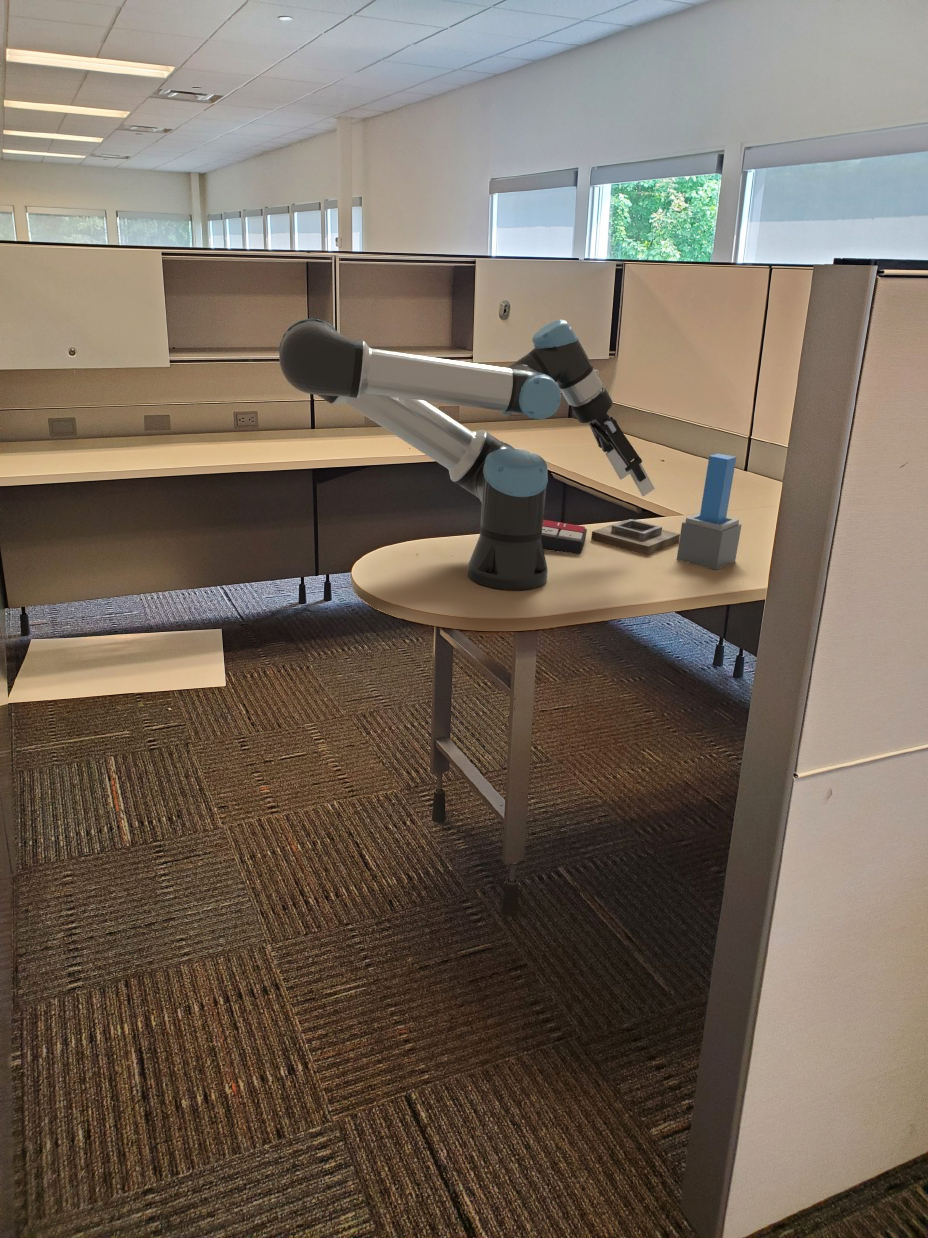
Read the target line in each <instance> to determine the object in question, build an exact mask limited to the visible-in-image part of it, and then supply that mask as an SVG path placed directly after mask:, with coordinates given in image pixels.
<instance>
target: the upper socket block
mask: <svg viewBox="0 0 928 1238" xmlns="http://www.w3.org/2000/svg"><path fill="white" fill-rule="evenodd" d="M699 518H700V512H699V513H695V514H694V515H691V516H687V517H686V518H685V521H683V522H681V526H680V527H681V528H680V532H679V534H680V538H679V543H678V549H677V553H676V560H678V561H681V562H683V563H684V562H685V563H689V564H691V565H696V566H699V567H703V568H706V569H710V570H714V571H717V570H720V569H722V568H724V567H726V566H727V565H730V564H732V563H734V562H736V559H737V552H738V549H739V548H738V546H739V542H740V541H739V540H740V535H741V531H742V523H739V522H740V519H738V518H733V517H729V516H726V522H725V523H723V524H720V525H719V524H715V523H711V522H706V521H702V520H699Z"/></svg>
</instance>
